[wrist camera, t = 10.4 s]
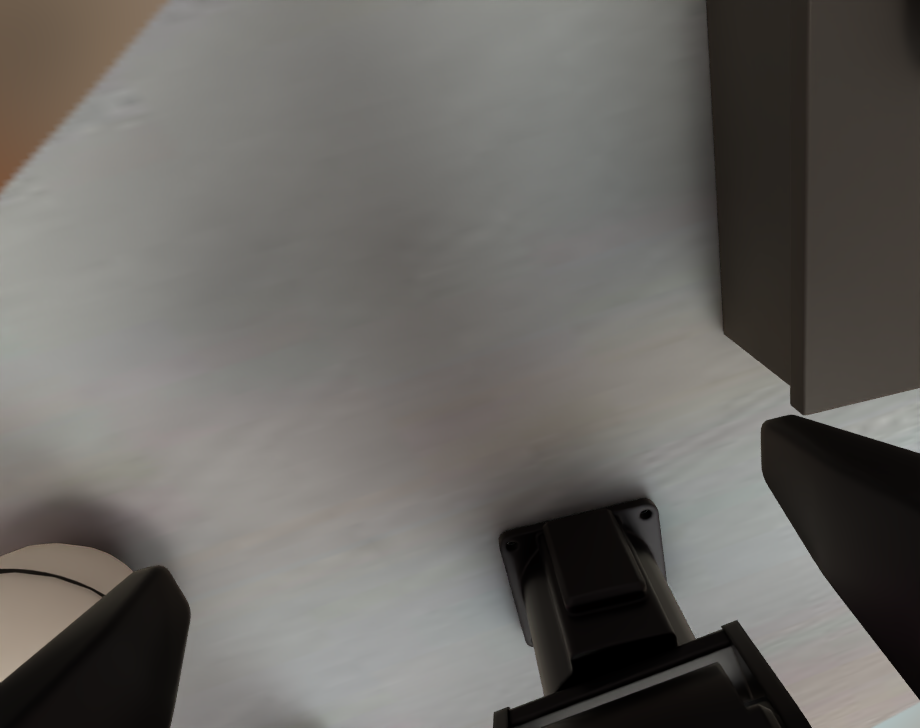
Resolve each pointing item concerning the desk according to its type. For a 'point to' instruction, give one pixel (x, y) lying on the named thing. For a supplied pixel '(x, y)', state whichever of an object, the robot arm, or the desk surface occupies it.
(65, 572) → the seamed sphere
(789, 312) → the black box
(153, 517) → the desk surface
